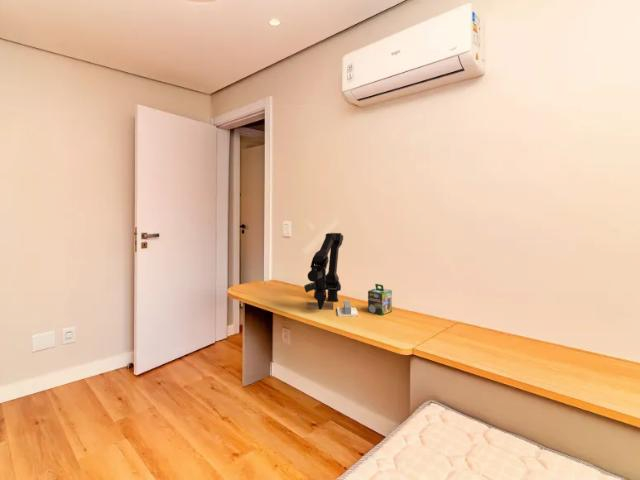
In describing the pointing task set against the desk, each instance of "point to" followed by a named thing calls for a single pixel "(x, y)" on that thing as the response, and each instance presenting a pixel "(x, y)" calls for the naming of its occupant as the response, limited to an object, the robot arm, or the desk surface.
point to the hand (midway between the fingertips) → (320, 306)
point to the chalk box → (380, 300)
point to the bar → (315, 307)
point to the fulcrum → (347, 310)
